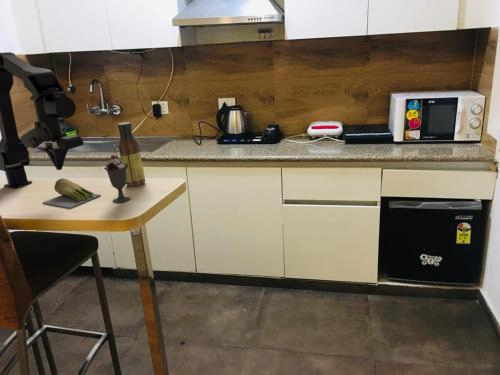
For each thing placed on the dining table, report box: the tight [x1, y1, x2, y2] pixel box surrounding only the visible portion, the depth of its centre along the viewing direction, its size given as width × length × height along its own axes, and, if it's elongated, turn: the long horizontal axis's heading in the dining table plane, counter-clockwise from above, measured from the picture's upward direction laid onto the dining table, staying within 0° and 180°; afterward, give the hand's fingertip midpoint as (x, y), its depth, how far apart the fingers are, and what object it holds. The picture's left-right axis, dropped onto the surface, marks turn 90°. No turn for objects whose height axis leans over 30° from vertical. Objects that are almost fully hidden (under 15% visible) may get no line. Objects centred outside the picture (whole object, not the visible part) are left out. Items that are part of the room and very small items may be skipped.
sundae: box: [103, 147, 131, 204], centre depth 121 cm, size 7×7×15 cm
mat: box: [42, 193, 102, 210], centre depth 126 cm, size 12×11×1 cm
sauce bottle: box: [117, 121, 146, 187], centre depth 134 cm, size 6×6×20 cm
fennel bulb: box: [54, 178, 95, 201], centre depth 127 cm, size 6×5×12 cm
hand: (59, 169), depth 125 cm, fingers closed
